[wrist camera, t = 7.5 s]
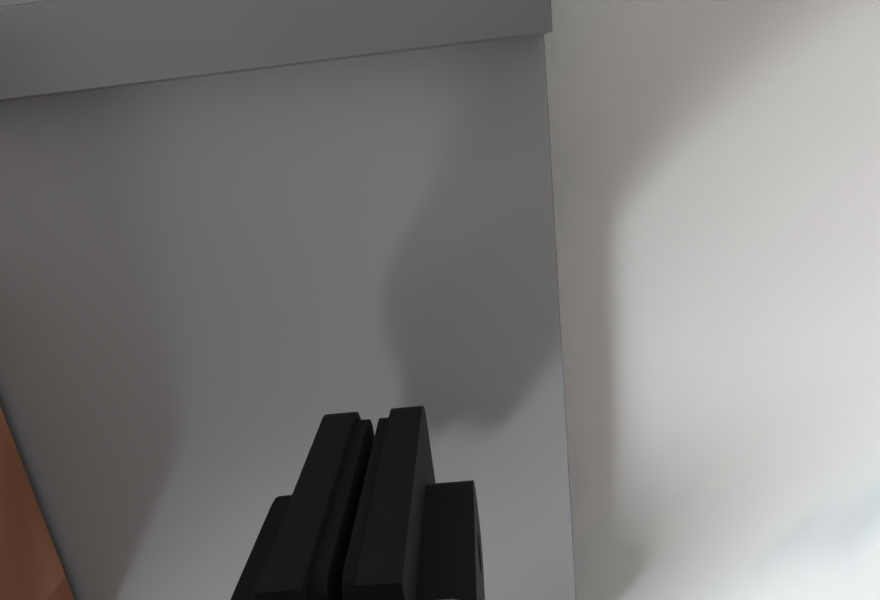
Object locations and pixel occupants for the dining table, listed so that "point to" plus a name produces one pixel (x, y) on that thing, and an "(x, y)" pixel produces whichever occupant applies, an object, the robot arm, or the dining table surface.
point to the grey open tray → (275, 271)
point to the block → (24, 534)
